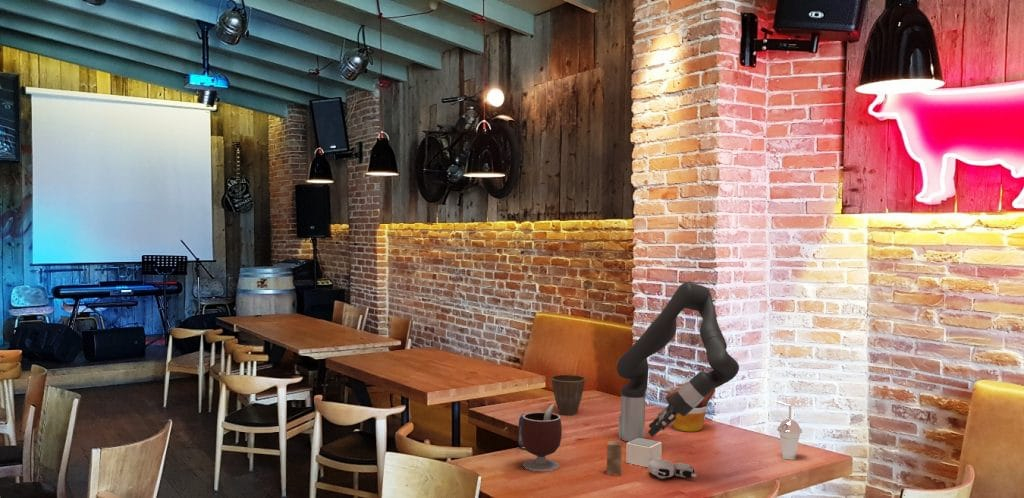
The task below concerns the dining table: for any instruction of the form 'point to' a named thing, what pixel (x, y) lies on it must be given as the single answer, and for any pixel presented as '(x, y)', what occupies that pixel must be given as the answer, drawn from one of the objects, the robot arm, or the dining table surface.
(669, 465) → the robot toy
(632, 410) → the robot arm
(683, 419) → the bucket of meat
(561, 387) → the plant pot
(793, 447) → the cup with straw
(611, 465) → the walnut block
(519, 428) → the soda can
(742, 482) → the dining table surface
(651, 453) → the block
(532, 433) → the mate gourd
